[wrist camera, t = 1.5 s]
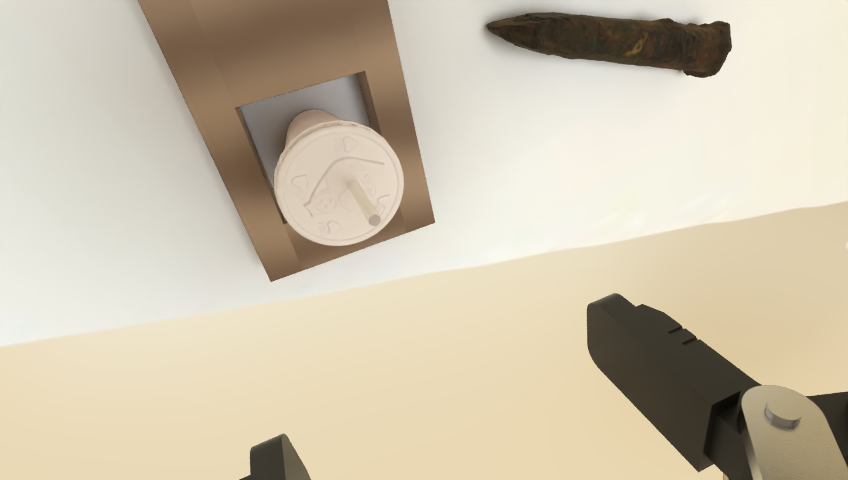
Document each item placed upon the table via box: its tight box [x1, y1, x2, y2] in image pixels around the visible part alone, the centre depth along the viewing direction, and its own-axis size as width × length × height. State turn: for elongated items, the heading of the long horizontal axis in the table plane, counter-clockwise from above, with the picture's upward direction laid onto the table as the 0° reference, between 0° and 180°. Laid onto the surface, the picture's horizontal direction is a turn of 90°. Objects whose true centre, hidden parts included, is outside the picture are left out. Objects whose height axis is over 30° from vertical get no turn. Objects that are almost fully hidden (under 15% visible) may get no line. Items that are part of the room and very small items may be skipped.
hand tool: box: [487, 12, 732, 78], centre depth 33 cm, size 19×4×5 cm, turn 82°
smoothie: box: [274, 110, 404, 246], centre depth 25 cm, size 6×6×14 cm
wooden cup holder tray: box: [138, 0, 435, 282], centre depth 26 cm, size 30×12×3 cm, turn 12°
